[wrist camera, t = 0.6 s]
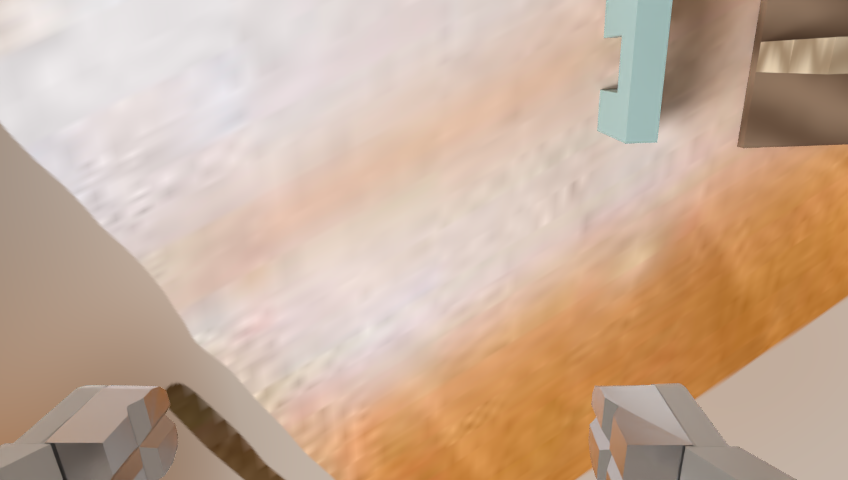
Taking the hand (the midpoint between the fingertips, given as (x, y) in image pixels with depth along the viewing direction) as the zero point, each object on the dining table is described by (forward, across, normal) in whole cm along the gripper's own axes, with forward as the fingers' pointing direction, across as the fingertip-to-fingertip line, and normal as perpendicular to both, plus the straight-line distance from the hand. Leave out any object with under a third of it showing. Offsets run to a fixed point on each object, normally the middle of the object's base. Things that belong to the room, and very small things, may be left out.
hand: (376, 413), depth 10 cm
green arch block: (+42, -17, -5) cm, 45 cm away
